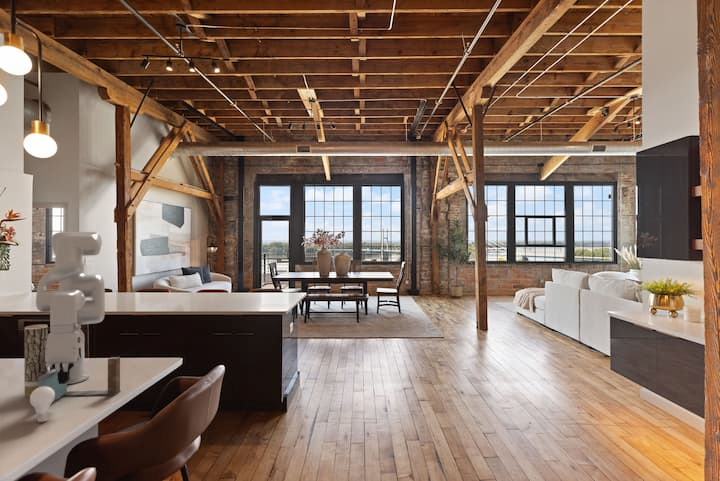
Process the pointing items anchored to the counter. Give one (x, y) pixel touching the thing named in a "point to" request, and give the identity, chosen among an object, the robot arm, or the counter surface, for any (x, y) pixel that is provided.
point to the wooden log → (34, 356)
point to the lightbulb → (42, 401)
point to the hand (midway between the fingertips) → (63, 382)
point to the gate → (52, 383)
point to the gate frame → (112, 381)
